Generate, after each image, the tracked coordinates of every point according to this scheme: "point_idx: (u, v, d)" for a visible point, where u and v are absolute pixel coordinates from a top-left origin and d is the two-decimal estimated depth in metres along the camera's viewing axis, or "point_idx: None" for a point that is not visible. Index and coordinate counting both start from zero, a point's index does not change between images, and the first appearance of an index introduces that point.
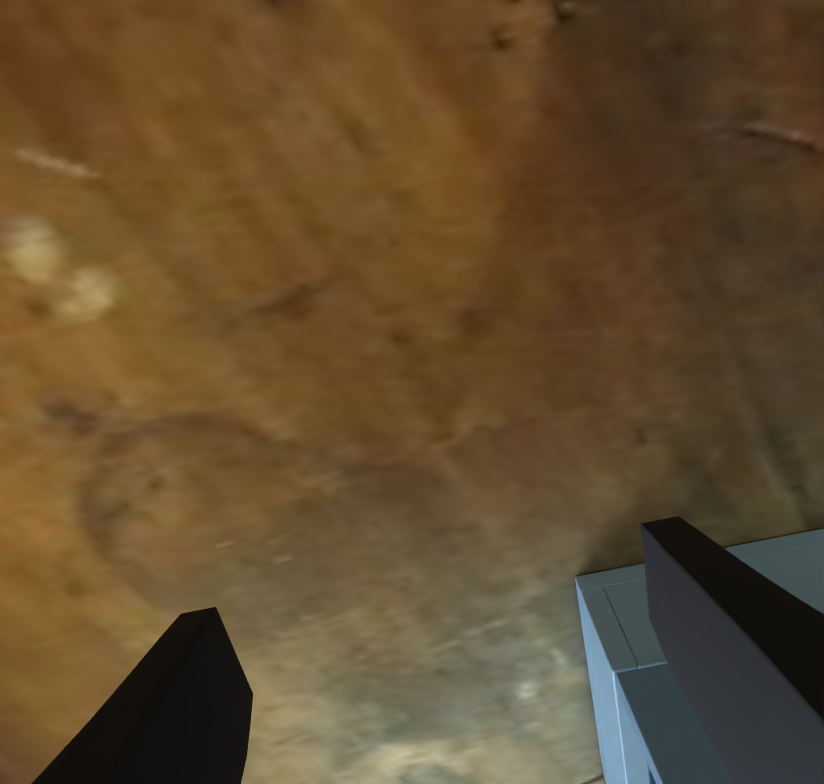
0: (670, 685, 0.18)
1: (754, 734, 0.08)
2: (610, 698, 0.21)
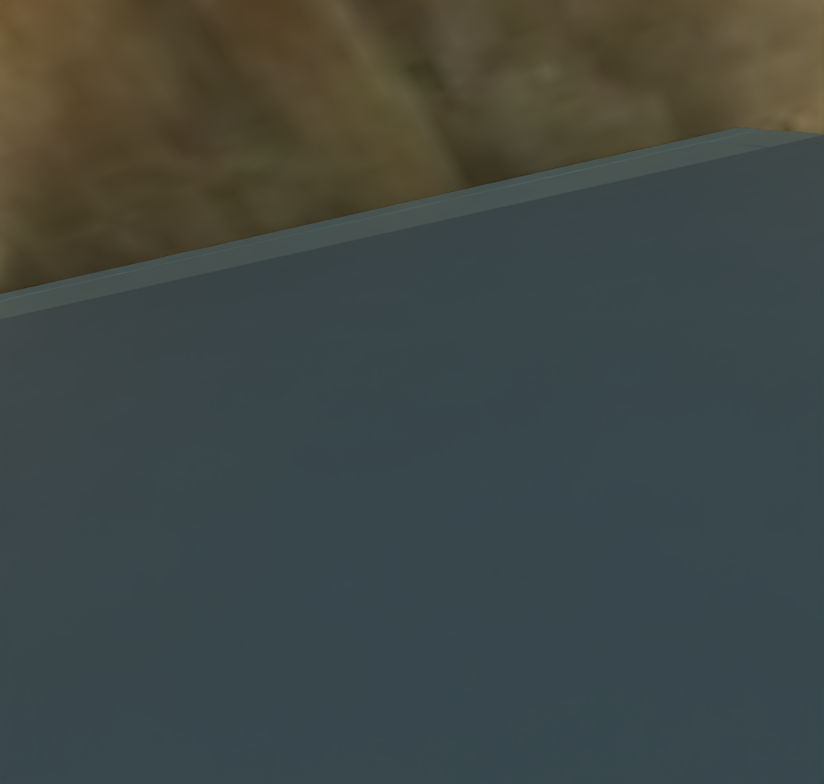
0: None
1: None
2: None
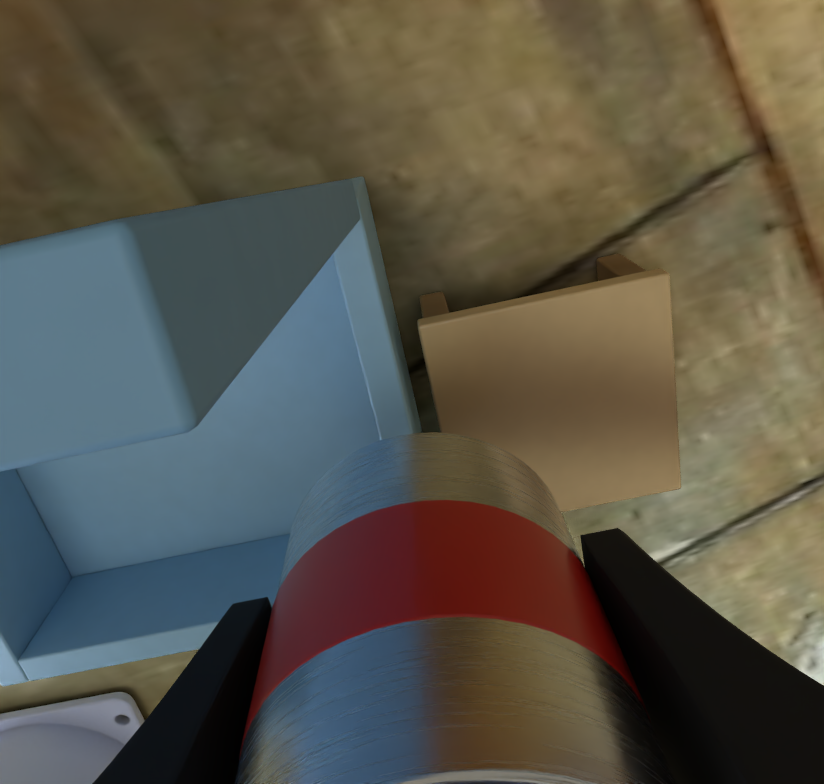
0: None
1: (674, 749, 0.08)
2: None
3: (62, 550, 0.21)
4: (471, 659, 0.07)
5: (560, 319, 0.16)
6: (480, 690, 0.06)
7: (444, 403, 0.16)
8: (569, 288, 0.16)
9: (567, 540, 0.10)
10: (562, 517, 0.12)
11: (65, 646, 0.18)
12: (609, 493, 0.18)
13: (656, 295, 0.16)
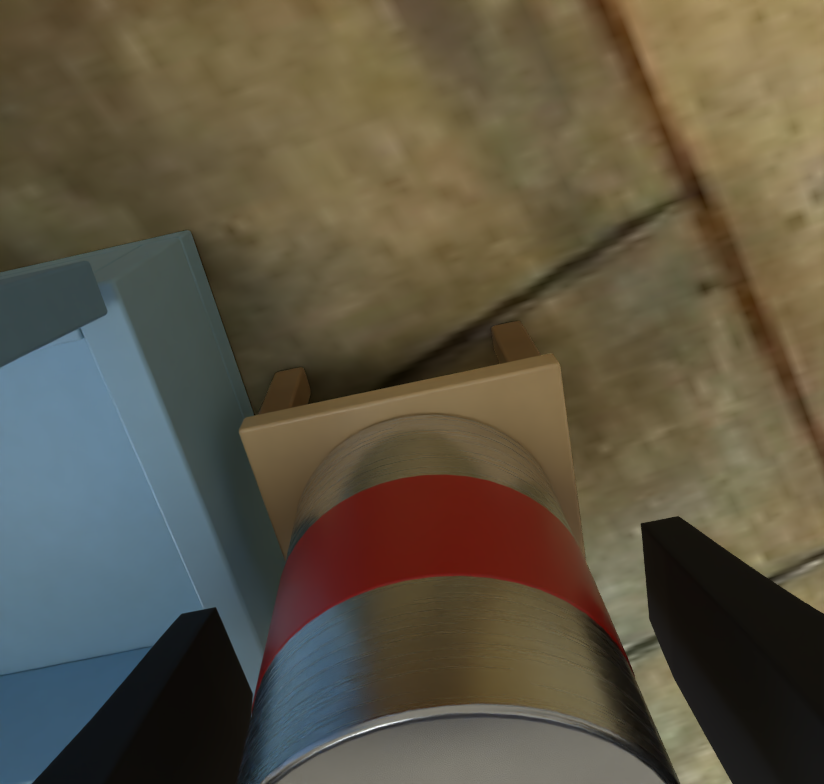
0: None
1: (754, 734, 0.08)
2: None
3: None
4: (466, 611, 0.07)
5: None
6: (475, 637, 0.07)
7: (282, 521, 0.13)
8: (435, 379, 0.12)
9: (559, 514, 0.11)
10: (555, 495, 0.12)
11: None
12: None
13: (544, 390, 0.12)
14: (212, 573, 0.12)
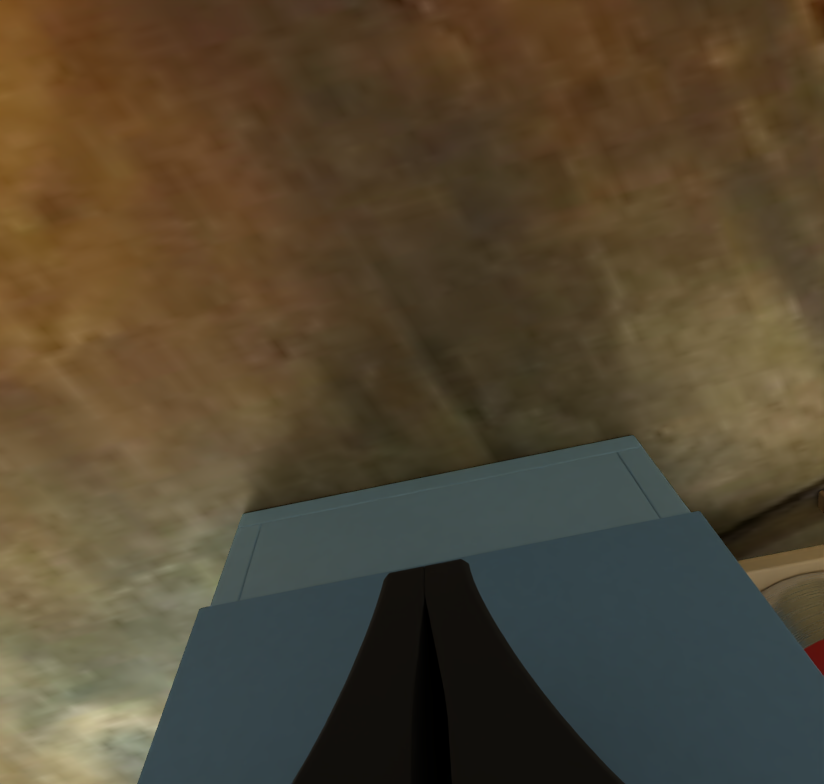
0: (241, 622, 0.16)
1: None
2: None
3: None
4: None
5: None
6: None
7: None
8: None
9: None
10: None
11: None
12: None
13: None
14: None
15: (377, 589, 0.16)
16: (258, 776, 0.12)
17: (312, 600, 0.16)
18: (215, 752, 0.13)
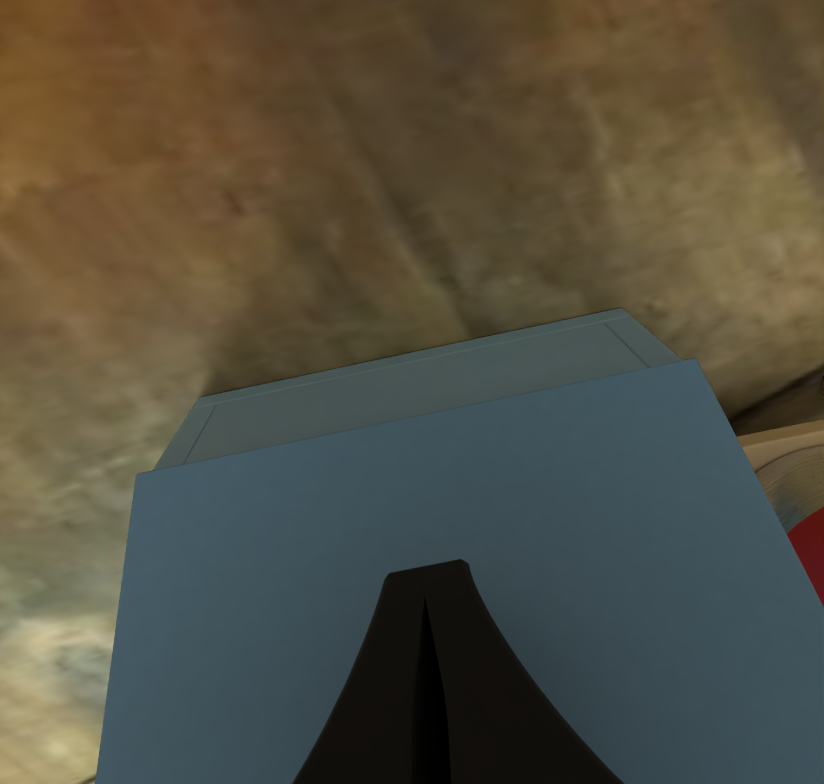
0: (186, 495, 0.14)
1: None
2: None
3: None
4: None
5: None
6: None
7: None
8: None
9: None
10: None
11: None
12: None
13: None
14: None
15: (336, 455, 0.14)
16: (233, 687, 0.12)
17: (264, 467, 0.14)
18: (184, 658, 0.12)
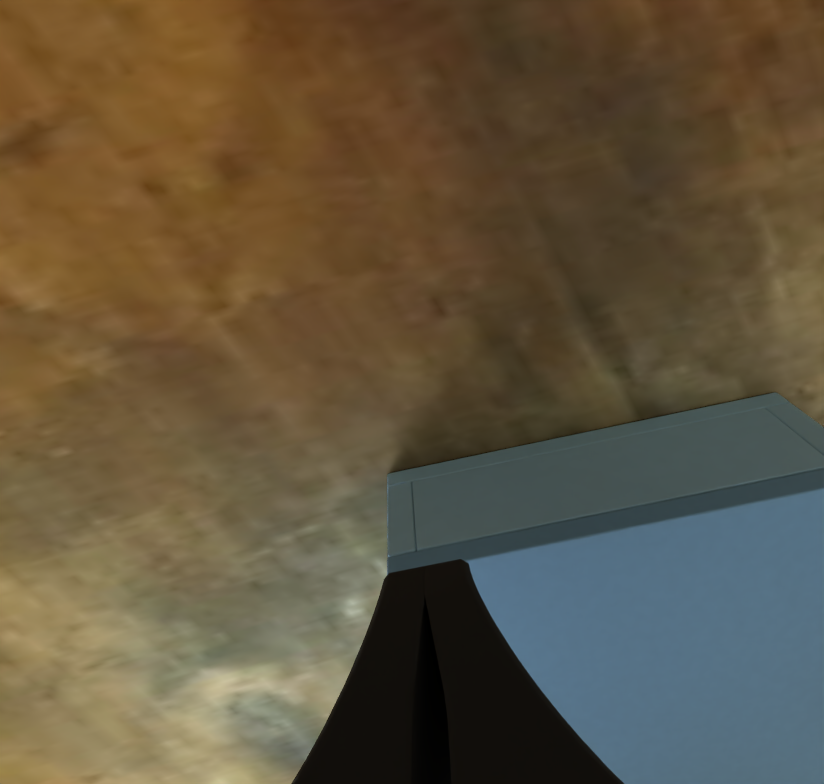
0: None
1: None
2: None
3: None
4: None
5: None
6: None
7: None
8: None
9: None
10: None
11: None
12: None
13: None
14: None
15: (569, 559, 0.17)
16: None
17: (506, 570, 0.17)
18: None
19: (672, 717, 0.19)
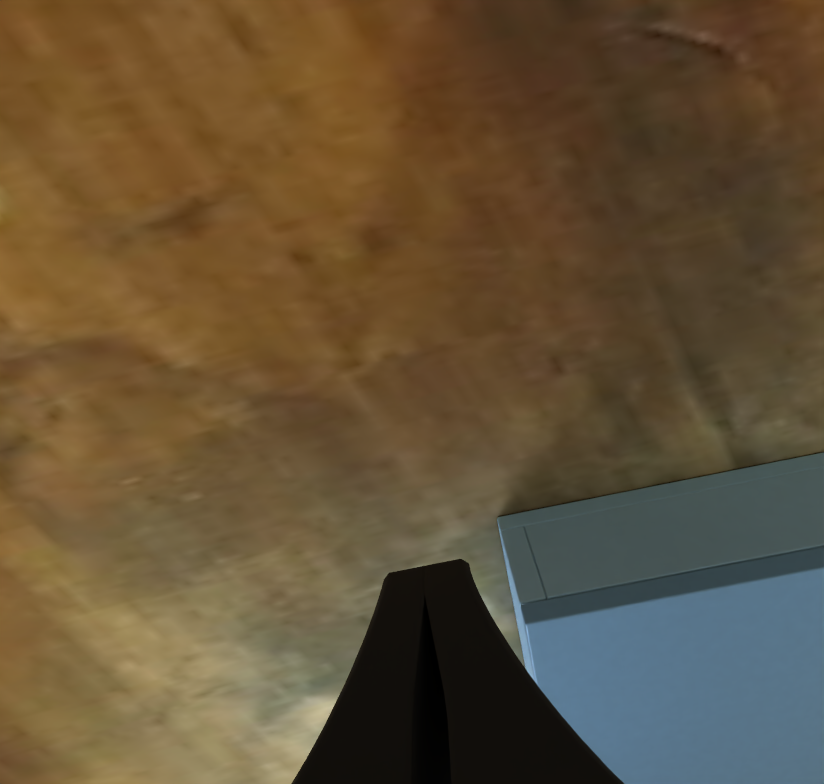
0: (574, 638, 0.18)
1: None
2: (524, 636, 0.20)
3: None
4: None
5: None
6: None
7: None
8: None
9: None
10: None
11: None
12: None
13: None
14: None
15: (694, 609, 0.18)
16: (628, 733, 0.20)
17: (635, 618, 0.18)
18: (593, 723, 0.20)
19: (775, 752, 0.21)
